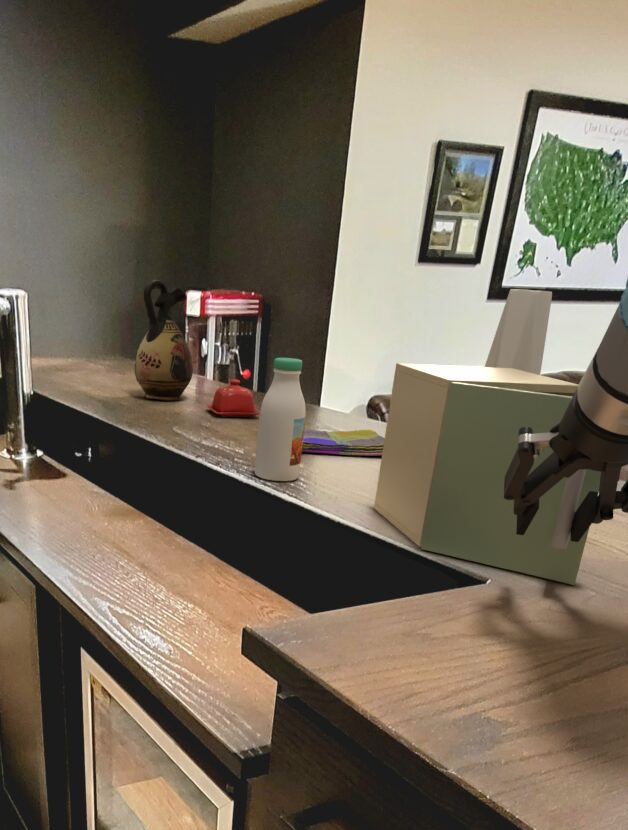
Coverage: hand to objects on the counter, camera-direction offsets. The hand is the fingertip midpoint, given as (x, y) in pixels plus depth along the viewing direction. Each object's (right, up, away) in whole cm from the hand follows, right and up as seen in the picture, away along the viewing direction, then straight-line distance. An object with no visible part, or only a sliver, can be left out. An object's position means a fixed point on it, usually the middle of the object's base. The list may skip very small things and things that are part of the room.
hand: (547, 527), depth 81 cm
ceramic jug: (-46, +32, +112) cm, 125 cm away
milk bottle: (-24, +8, +44) cm, 51 cm away
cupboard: (-1, 0, +24) cm, 24 cm away
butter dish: (-28, +26, +96) cm, 104 cm away
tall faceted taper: (+17, +9, +54) cm, 57 cm away
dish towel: (-10, +16, +69) cm, 72 cm away
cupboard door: (-3, -6, +7) cm, 10 cm away
